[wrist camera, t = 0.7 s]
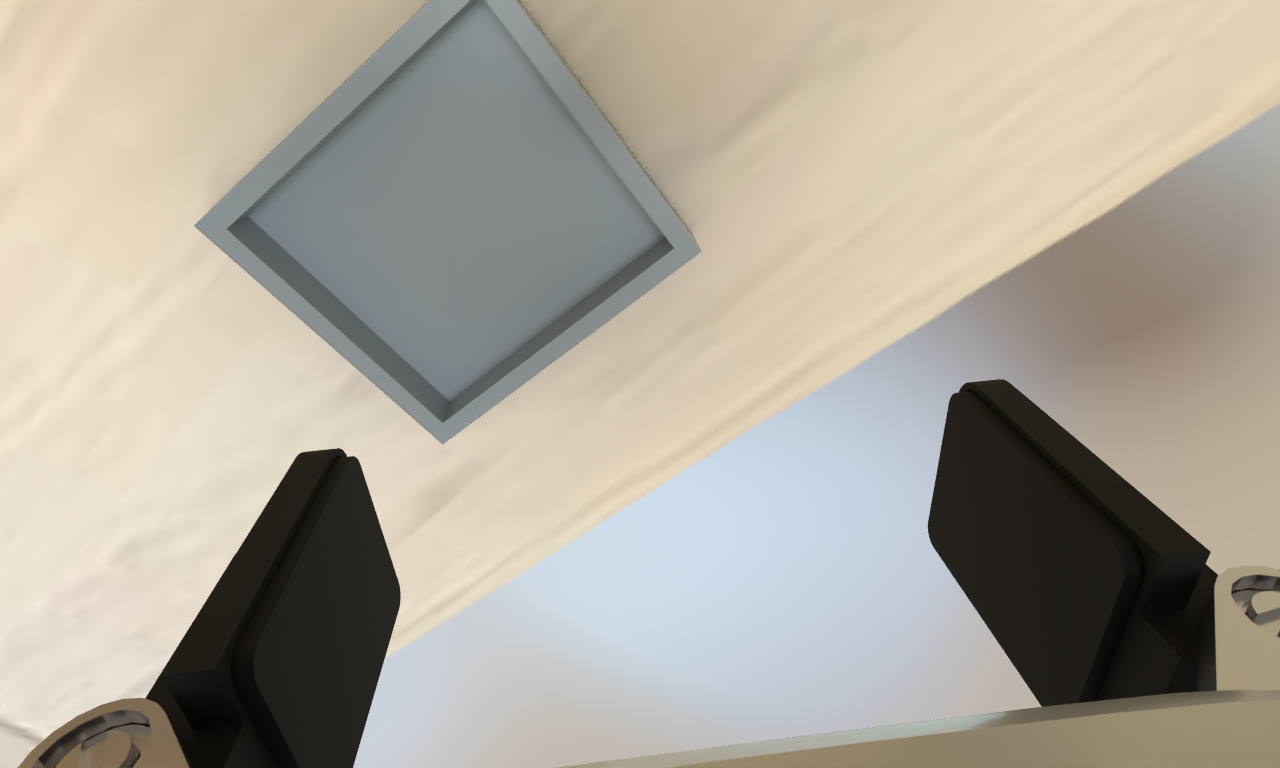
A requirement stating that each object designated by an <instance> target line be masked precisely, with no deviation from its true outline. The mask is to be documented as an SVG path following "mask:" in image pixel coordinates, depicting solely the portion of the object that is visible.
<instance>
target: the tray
mask: <svg viewBox="0 0 1280 768" xmlns="http://www.w3.org/2000/svg"><path fill="white" fill-rule="evenodd" d="M194 226H195V227H196V228H197V229H198V230H199V231H201V232H202V233H203V234H204V235H205V236H206V237H207V238H209V239H210V240H211V241H212V242H213V243H214V244H215V245H216V246H218V247H219V248H220V249H221V250H222V251H223V252H224V253H226V254H227V255H228V256H229V257H230V258H231V259H232V260H234V261H235V262H236V263H237V264H238V265H239V266H240V267H242V268H243V269H244V270H245V271H246V272H247V273H248V274H250V275H251V276H252V277H253V278H254V279H255V280H256V281H257V282H259V283H260V284H261V285H262V286H263V287H264V288H265V289H267V290H268V291H269V292H270V293H271V294H272V295H273V296H275V297H276V298H277V299H278V300H279V301H280V302H281V303H283V304H284V305H285V306H286V307H287V308H288V309H289V310H290V311H292V312H293V313H294V314H295V315H296V316H297V317H298V318H300V319H301V320H302V321H303V322H304V323H305V324H306V325H308V326H309V327H310V328H311V329H312V330H313V331H314V332H316V333H317V334H318V335H319V336H320V337H321V338H322V339H324V340H325V341H326V342H327V343H328V344H329V345H330V346H331V347H333V348H334V349H335V350H336V351H337V352H338V353H339V354H341V355H342V356H343V357H344V358H345V359H346V360H347V361H349V362H350V363H351V364H352V365H353V366H354V367H355V368H357V369H358V370H359V371H360V372H361V373H362V374H363V375H364V376H366V377H367V378H368V379H369V380H370V381H371V382H372V383H374V384H375V385H376V386H377V387H378V388H379V389H380V390H382V391H383V392H384V393H385V394H386V395H387V396H388V397H390V398H391V399H392V400H393V401H394V402H395V403H396V404H397V405H399V406H400V407H401V408H402V409H403V410H404V411H405V412H407V413H408V414H409V415H410V416H411V417H412V418H413V419H415V420H416V421H417V422H418V423H419V424H420V425H421V426H423V427H424V428H425V429H426V430H427V431H428V432H429V433H431V434H432V435H433V436H434V437H435V438H436V439H437V440H438V441H440V442H441V443H442V444H444V443H445V442H447V441H448V440H449V439H451V438H452V437H453V436H455V435H456V434H457V433H459V432H460V431H461V430H463V429H464V428H465V427H467V426H468V425H469V424H471V423H472V422H474V421H475V420H476V419H478V418H479V417H480V416H482V415H483V414H484V413H486V412H487V411H488V410H490V409H491V408H492V407H494V406H495V405H496V404H498V403H499V402H500V401H502V400H503V399H504V398H506V397H507V396H508V395H510V394H511V393H512V392H514V391H515V390H516V389H518V388H519V387H520V386H522V385H523V384H524V383H526V382H527V381H528V380H530V379H531V378H533V377H534V376H535V375H537V374H538V373H539V372H541V371H542V370H543V369H545V368H546V367H547V366H549V365H550V364H551V363H553V362H554V361H555V360H557V359H558V358H559V357H561V356H562V355H563V354H565V353H566V352H567V351H569V350H570V349H571V348H573V347H574V346H575V345H577V344H578V343H579V342H581V341H582V340H583V339H585V338H586V337H588V336H589V335H590V334H592V333H593V332H594V331H596V330H597V329H598V328H600V327H601V326H602V325H604V324H605V323H606V322H608V321H609V320H610V319H612V318H613V317H614V316H616V315H617V314H618V313H620V312H621V311H622V310H624V309H625V308H626V307H628V306H629V305H630V304H632V303H633V302H634V301H636V300H637V299H638V298H640V297H641V296H642V295H644V294H645V293H647V292H648V291H649V290H651V289H652V288H653V287H655V286H656V285H657V284H659V283H660V282H661V281H663V280H664V279H665V278H667V277H668V276H669V275H671V274H672V273H673V272H675V271H676V270H677V269H679V268H680V267H681V266H683V265H684V264H685V263H687V262H688V261H689V260H691V259H692V258H693V257H695V256H696V255H697V254H699V253H700V252H702V251H701V249H700V247H699V246H698V244H697V242H696V240H695V238H694V236H693V235H692V233H691V232H690V231H689V229H688V228H687V226H686V225H685V224H684V222H683V221H682V220H681V218H680V217H679V216H678V214H677V213H676V212H675V210H674V209H673V208H672V206H671V205H670V203H669V202H668V201H667V199H666V198H665V197H664V195H663V194H662V193H661V191H660V190H659V189H658V187H657V186H656V184H655V183H654V182H653V180H652V179H651V178H650V176H649V175H648V174H647V172H646V171H645V170H644V168H643V167H642V166H641V164H640V163H639V161H638V160H637V159H636V157H635V156H634V155H633V153H632V152H631V151H630V149H629V148H628V147H627V145H626V144H625V143H624V141H623V140H622V138H621V137H620V136H619V134H618V133H617V132H616V130H615V129H614V128H613V126H612V125H611V124H610V122H609V121H608V120H607V118H606V117H605V115H604V114H603V113H602V111H601V110H600V109H599V107H598V106H597V105H596V103H595V102H594V101H593V99H592V98H591V97H590V95H589V94H588V92H587V91H586V90H585V88H584V87H583V86H582V84H581V83H580V82H579V80H578V79H577V78H576V76H575V75H574V74H573V72H572V71H571V69H570V68H569V67H568V65H567V64H566V63H565V61H564V60H563V59H562V57H561V56H560V55H559V53H558V52H557V51H556V49H555V48H554V46H553V45H552V44H551V42H550V41H549V40H548V38H547V37H546V36H545V34H544V33H543V32H542V30H541V29H540V28H539V26H538V25H537V23H536V22H535V21H534V19H533V18H532V17H531V15H530V14H529V13H528V11H527V10H526V9H525V7H524V6H523V5H522V3H521V2H520V0H430V1H429V2H428V3H426V4H425V5H424V6H423V7H422V8H421V9H420V10H419V11H418V12H417V13H416V14H415V15H414V16H413V17H412V18H411V19H410V20H409V21H408V22H407V23H406V24H405V25H403V26H402V27H401V28H400V29H399V30H398V31H397V32H396V33H395V34H394V35H393V36H392V37H391V38H390V39H389V40H388V41H387V42H386V43H385V44H384V45H383V46H381V47H380V48H379V49H378V50H377V51H376V52H375V53H374V54H373V55H372V56H371V57H370V58H369V59H368V60H367V61H366V62H365V63H364V64H363V65H362V66H361V67H360V68H358V69H357V70H356V71H355V72H354V73H353V74H352V75H351V76H350V77H349V78H348V79H347V80H346V81H345V82H344V83H343V84H342V85H341V86H340V87H339V88H338V89H336V90H335V91H334V92H333V93H332V94H331V95H330V96H329V97H328V98H327V99H326V100H325V101H324V102H323V103H322V104H321V105H320V106H319V107H318V108H317V109H316V110H315V111H313V112H312V113H311V114H310V115H309V116H308V117H307V118H306V119H305V120H304V121H303V122H302V123H301V124H300V125H299V126H298V127H297V128H296V129H295V130H294V131H293V132H292V133H290V134H289V135H288V136H287V137H286V138H285V139H284V140H283V141H282V142H281V143H280V144H279V145H278V146H277V147H276V148H275V149H274V150H273V151H272V152H271V153H270V154H268V155H267V156H266V157H265V158H264V159H263V160H262V161H261V162H260V163H259V164H258V165H257V166H256V167H255V168H254V169H253V170H252V171H251V172H250V173H249V174H248V175H247V176H245V177H244V178H243V179H242V180H241V181H240V182H239V183H238V184H237V185H236V186H235V187H234V188H233V189H232V190H231V191H230V192H229V193H228V194H227V195H226V196H225V197H223V198H222V199H221V200H220V201H219V202H218V203H217V204H216V205H215V206H214V207H213V208H212V209H211V210H210V211H209V212H208V213H207V214H206V215H205V216H204V217H203V218H202V219H200V220H199V221H198V222H197V223H196V224H195V225H194Z"/></svg>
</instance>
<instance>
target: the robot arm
mask: <svg viewBox="0 0 1280 768" xmlns="http://www.w3.org/2000/svg"><path fill="white" fill-rule="evenodd" d="M928 533H929V538H930V540H931V543H932V545H933V547H934V549H935V550H936V551H937V553H938V554H939V556H940V557H941V559H942V560H943V562H944V563H945V565H946V566H947V568H948V569H949V570H950V572H951V574H952V575H953V577H954V578H955V579H956V581H957V582H958V584H959V585H960V587H961V588H962V590H963V591H964V592H965V594H966V596H967V597H968V599H969V600H970V601H971V603H972V604H973V606H974V607H975V609H976V610H977V612H978V613H979V614H980V616H981V618H982V619H983V621H984V622H985V624H986V625H987V626H988V628H989V629H990V631H991V632H992V634H993V635H994V637H995V638H996V640H997V641H998V643H999V644H1000V646H1001V647H1002V649H1003V650H1004V651H1005V653H1006V655H1007V656H1008V657H1009V659H1010V660H1011V662H1012V663H1013V665H1014V666H1015V668H1016V669H1017V671H1018V672H1019V674H1020V675H1021V676H1022V678H1023V679H1024V681H1025V682H1026V684H1027V685H1028V687H1029V688H1030V690H1031V691H1032V693H1033V694H1034V696H1035V697H1036V699H1037V700H1038V702H1039V703H1040V705H1041V706H1042V707H1038V708H1030V709H1021V710H1013V711H1005V712H996V713H988V714H980V715H972V716H963V717H955V718H947V719H938V720H931V721H922V722H914V723H905V724H898V725H889V726H881V727H873V728H864V729H856V730H849V731H840V732H832V733H825V734H816V735H809V736H800V737H792V738H785V739H778V740H769V741H761V742H753V743H746V744H737V745H729V746H721V747H713V748H706V749H698V750H690V751H682V752H674V753H666V754H659V755H651V756H643V757H635V758H627V759H620V760H612V761H605V762H598V763H590V764H582V765H575V766H567V767H560V768H1280V570H1278V569H1274V568H1269V567H1263V566H1240V567H1235V568H1230V569H1227V570H1226V571H1224V572H1223V573H1221V574H1220V575H1217V574H1216V573H1215V572H1214V571H1213V570H1212V569H1210V568H1209V567H1208V566H1207V565H1206V561H1207V559H1208V557H1209V555H1210V551H1209V550H1208V549H1207V548H1205V547H1204V546H1203V545H1202V544H1201V543H1199V542H1198V541H1197V540H1196V539H1195V538H1193V537H1192V536H1191V535H1190V534H1189V533H1187V532H1186V531H1185V530H1184V529H1183V528H1182V527H1180V526H1179V525H1178V524H1177V523H1175V522H1174V521H1173V520H1172V519H1171V518H1170V517H1168V516H1167V515H1166V514H1165V513H1164V512H1163V511H1161V510H1160V509H1159V508H1158V507H1157V506H1155V505H1154V504H1153V503H1152V502H1151V501H1149V500H1148V499H1147V498H1146V497H1145V496H1143V495H1142V494H1141V493H1140V492H1139V491H1138V490H1136V489H1135V488H1134V487H1133V486H1132V485H1130V484H1129V483H1128V482H1127V481H1126V480H1124V479H1123V478H1122V477H1121V476H1120V475H1118V474H1117V473H1116V472H1115V471H1114V470H1113V469H1111V468H1110V467H1109V466H1108V465H1107V464H1105V463H1104V462H1103V461H1102V460H1101V459H1099V458H1098V457H1097V456H1096V455H1095V454H1093V453H1092V452H1091V451H1090V450H1089V449H1088V448H1086V447H1085V446H1084V445H1083V444H1082V443H1080V442H1079V441H1078V440H1077V439H1076V438H1075V437H1073V436H1072V435H1071V434H1070V433H1069V432H1067V431H1066V430H1065V429H1064V428H1063V427H1061V426H1060V425H1059V424H1058V423H1057V422H1055V421H1054V420H1053V419H1052V418H1051V417H1049V416H1048V415H1047V414H1046V413H1045V412H1044V411H1042V410H1041V409H1040V408H1039V407H1038V406H1036V405H1035V404H1034V403H1033V402H1032V401H1031V400H1029V399H1028V398H1027V397H1026V396H1025V395H1023V394H1022V393H1021V392H1020V391H1019V390H1017V389H1016V388H1015V387H1014V386H1013V385H1011V384H1010V383H1009V382H1007V381H1006V380H999V379H998V380H989V381H980V382H971V383H966V384H964V385H963V386H962V387H961V389H960V391H959V393H955V394H953V395H952V396H951V398H950V401H949V406H948V412H947V418H946V423H945V429H944V435H943V440H942V446H941V452H940V458H939V463H938V469H937V475H936V481H935V487H934V492H933V497H932V503H931V510H930V515H929V521H928ZM399 606H400V586H399V582H398V579H397V576H396V573H395V570H394V567H393V564H392V560H391V557H390V554H389V551H388V548H387V545H386V542H385V539H384V536H383V533H382V530H381V527H380V524H379V521H378V517H377V514H376V511H375V508H374V505H373V502H372V499H371V496H370V493H369V490H368V487H367V484H366V481H365V478H364V474H363V471H362V468H361V465H360V463H359V461H358V459H357V458H356V457H354V456H351V457H347V455H346V454H345V452H344V451H343V450H342V449H339V448H338V449H328V450H319V451H309V452H302V453H300V454H299V455H298V456H297V457H296V459H295V460H294V462H293V463H292V465H291V467H290V468H289V470H288V471H287V473H286V475H285V476H284V478H283V479H282V481H281V483H280V484H279V486H278V487H277V489H276V491H275V492H274V494H273V495H272V497H271V499H270V500H269V502H268V503H267V505H266V507H265V508H264V510H263V511H262V513H261V515H260V516H259V518H258V520H257V521H256V523H255V524H254V526H253V528H252V529H251V531H250V532H249V534H248V536H247V537H246V539H245V540H244V542H243V544H242V545H241V547H240V548H239V550H238V552H237V553H236V554H235V556H234V557H233V559H232V560H231V562H230V564H229V565H228V567H227V569H226V570H225V572H224V573H223V575H222V577H221V578H220V580H219V581H218V583H217V585H216V586H215V588H214V589H213V591H212V593H211V594H210V596H209V597H208V599H207V601H206V602H205V604H204V605H203V607H202V609H201V610H200V612H199V613H198V615H197V617H196V618H195V620H194V621H193V623H192V625H191V626H190V628H189V629H188V631H187V633H186V634H185V636H184V637H183V639H182V641H181V642H180V644H179V645H178V647H177V649H176V650H175V652H174V653H173V655H172V657H171V658H170V660H169V661H168V663H167V665H166V666H165V668H164V669H163V671H162V673H161V674H160V676H159V677H158V679H157V681H156V682H155V684H154V685H153V687H152V689H151V690H150V692H149V693H148V695H147V697H146V698H145V699H144V698H132V699H121V700H118V701H114V702H110V703H107V704H103V705H100V706H98V707H96V708H94V709H92V710H90V711H87V712H85V713H83V714H81V715H79V716H77V717H75V718H74V719H72V720H71V721H69V722H68V723H66V724H65V725H63V726H62V727H60V728H59V729H57V730H56V731H54V732H53V733H51V734H50V735H49V736H48V737H47V738H46V739H45V740H44V741H42V742H41V743H40V744H39V745H38V746H37V747H36V748H34V749H33V750H32V751H31V752H30V753H29V755H28V756H27V757H26V758H25V760H24V761H23V762H22V763H21V764H20V766H19V767H18V768H353V765H354V762H355V758H356V755H357V751H358V748H359V744H360V741H361V738H362V734H363V731H364V727H365V724H366V721H367V717H368V713H369V710H370V707H371V703H372V700H373V697H374V693H375V690H376V686H377V682H378V679H379V676H380V672H381V669H382V666H383V662H384V659H385V655H386V652H387V648H388V645H389V642H390V638H391V635H392V631H393V628H394V624H395V621H396V618H397V614H398V611H399Z"/></svg>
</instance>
